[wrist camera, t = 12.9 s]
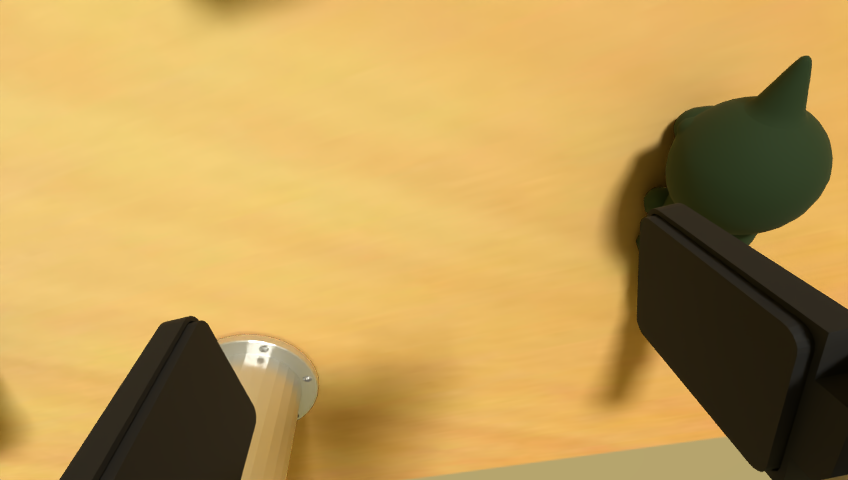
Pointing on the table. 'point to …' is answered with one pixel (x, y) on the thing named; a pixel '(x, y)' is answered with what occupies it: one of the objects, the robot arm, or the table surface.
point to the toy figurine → (749, 159)
